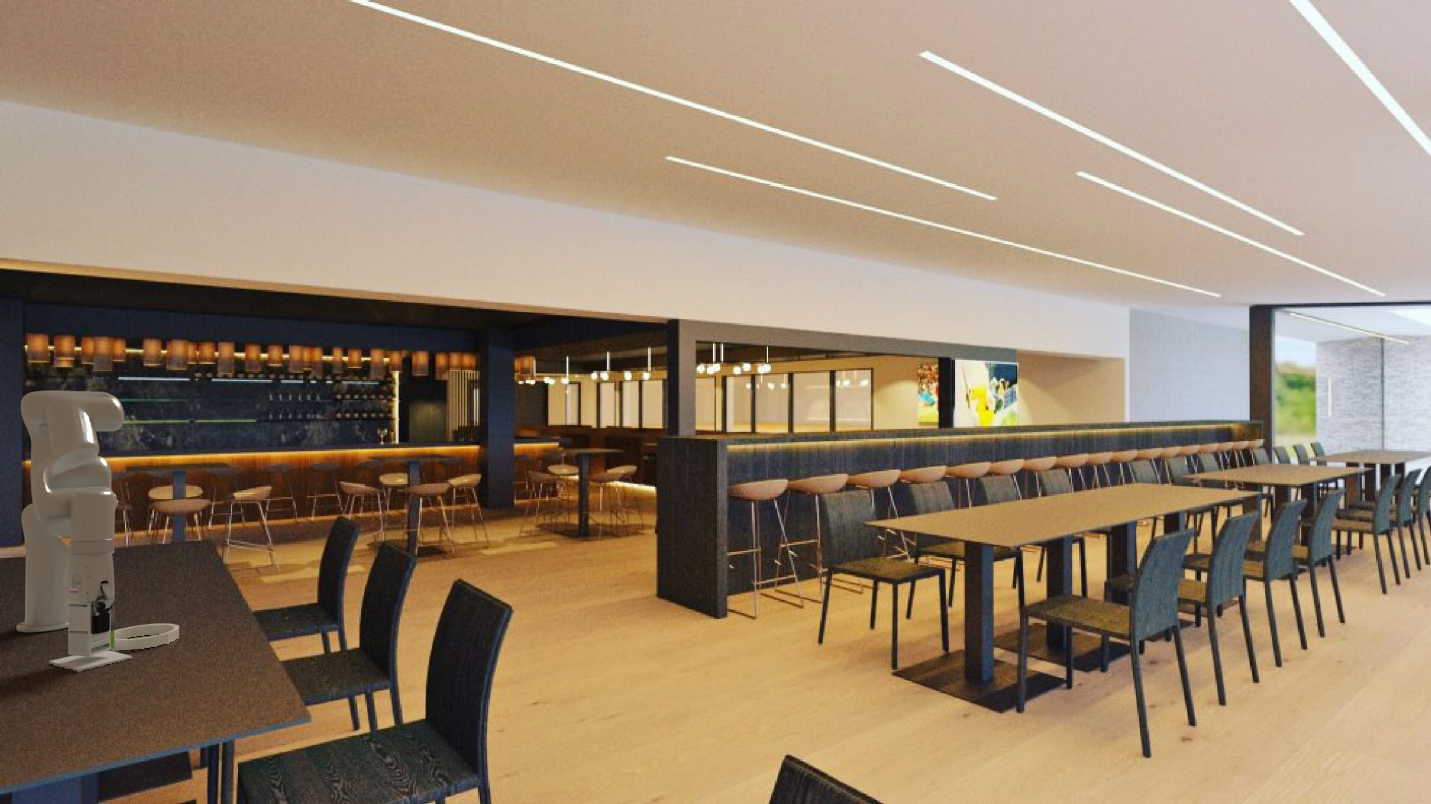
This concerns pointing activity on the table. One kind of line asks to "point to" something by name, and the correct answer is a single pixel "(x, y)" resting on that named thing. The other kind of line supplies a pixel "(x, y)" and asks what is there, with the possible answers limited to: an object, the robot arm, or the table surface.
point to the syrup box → (86, 628)
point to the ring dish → (165, 637)
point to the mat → (90, 660)
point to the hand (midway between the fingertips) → (91, 630)
